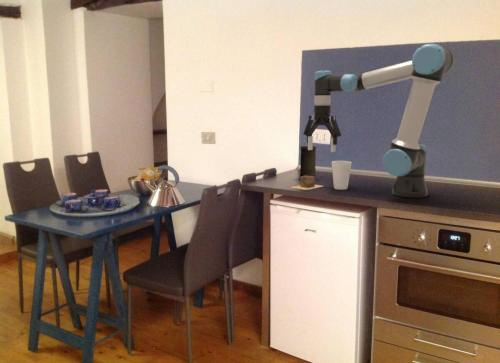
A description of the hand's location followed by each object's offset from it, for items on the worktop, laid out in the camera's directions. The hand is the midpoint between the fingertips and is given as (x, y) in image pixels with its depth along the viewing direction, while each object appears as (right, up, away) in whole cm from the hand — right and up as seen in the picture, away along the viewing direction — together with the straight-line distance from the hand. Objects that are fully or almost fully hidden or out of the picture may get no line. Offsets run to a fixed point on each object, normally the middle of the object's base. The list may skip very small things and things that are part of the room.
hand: (321, 151), depth 219 cm
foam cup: (+10, -18, +4) cm, 21 cm away
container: (-3, -14, +28) cm, 31 cm away
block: (-6, -17, +8) cm, 20 cm away
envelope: (-6, -17, +8) cm, 20 cm away
